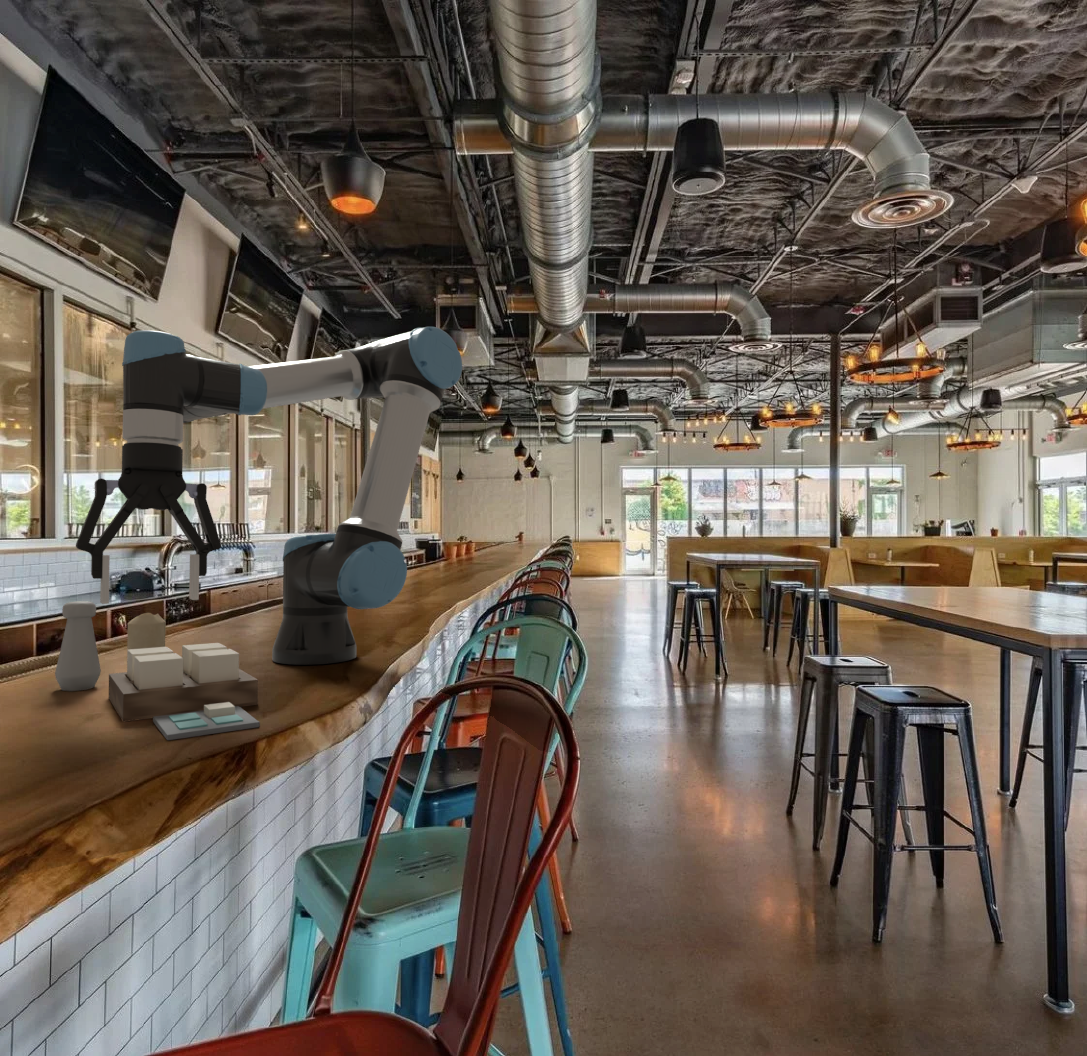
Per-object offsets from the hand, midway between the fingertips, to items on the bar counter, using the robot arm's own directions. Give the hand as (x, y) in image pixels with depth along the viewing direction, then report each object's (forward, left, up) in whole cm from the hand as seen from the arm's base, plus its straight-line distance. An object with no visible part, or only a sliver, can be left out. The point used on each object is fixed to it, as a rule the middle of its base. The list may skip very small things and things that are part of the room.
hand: (150, 601), depth 101 cm
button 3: (-7, +7, -11) cm, 15 cm away
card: (-3, +19, -14) cm, 23 cm away
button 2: (0, +7, -11) cm, 13 cm away
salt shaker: (+8, -14, -14) cm, 21 cm away
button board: (-3, +4, -14) cm, 15 cm away
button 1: (0, 0, -11) cm, 11 cm away
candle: (-2, -21, -14) cm, 26 cm away
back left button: (-7, 0, -11) cm, 13 cm away
